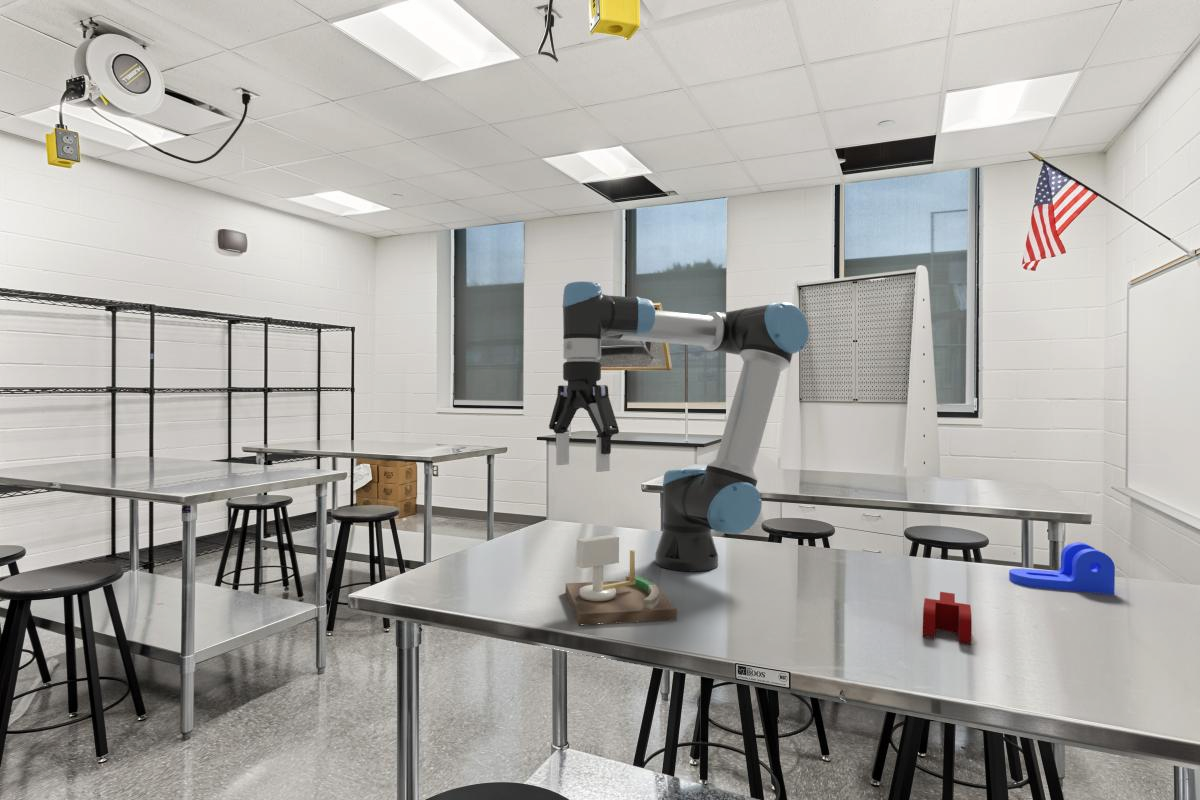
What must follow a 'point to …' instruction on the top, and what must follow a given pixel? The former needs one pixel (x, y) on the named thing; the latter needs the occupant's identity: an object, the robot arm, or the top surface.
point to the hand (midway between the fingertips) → (581, 468)
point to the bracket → (1073, 572)
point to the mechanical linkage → (947, 617)
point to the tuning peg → (601, 565)
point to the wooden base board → (622, 604)
